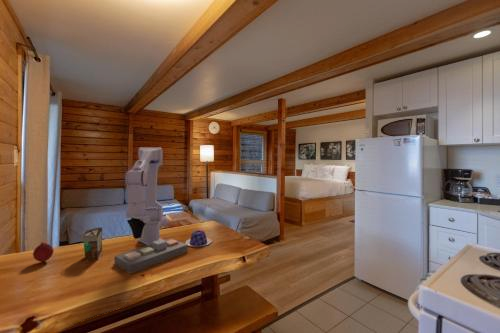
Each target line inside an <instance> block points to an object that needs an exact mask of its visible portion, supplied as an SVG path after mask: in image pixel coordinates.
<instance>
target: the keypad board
mask: <svg viewBox="0 0 500 333" xmlns="http://www.w3.org/2000/svg"><path fill="white" fill-rule="evenodd" d="M172 239H173V238H168V239H164V241H169V240H172ZM173 240H175V239H173ZM177 241H178V244H177V245H174V246H171V247H169V246H167V248H165V249H162V250H159V251H156V250H154V252H153V253H150V254H147V255H142V254H141V257H139V258H136V259H133V260H130V261H129V260H127V259H126V258H124V255H125V254H128V253H131V252H134V251H136V252H138V253H139V250H140V249H144V248H147V247H150V248H152V244H150V245H145V246H141V247H138V248H136V249H132V250H129V251H126V252H123V253H120V254H116V255H114V264H115V265H116V266H118V267H119V268H120V269H122V270H124V271H126V273H128V274H133V273H136V272H138V271H141V270H144V269H146V268H148V267H152V266H154V265H156V264H159V263H162V262H165V261H167V260H169V259H171V258H174V257H177V256H180V255H182V254H185V253H187V252H188V250H189V249H188V245H187V244H185V242H182V241H179V240H177Z"/></svg>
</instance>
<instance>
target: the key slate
mask: <svg viewBox="0 0 500 333" xmlns="http://www.w3.org/2000/svg"><path fill="white" fill-rule="evenodd" d="M162 239H163V238H161V240H157V241H154V242H152V249H154V250H156V251H159V250H162V249H165V248H167V241H164V240H165V239H164V240H162Z"/></svg>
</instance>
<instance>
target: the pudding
mask: <svg viewBox="0 0 500 333" xmlns="http://www.w3.org/2000/svg"><path fill="white" fill-rule="evenodd" d="M184 243H185V244H187V245H188V246H189V247H193V248H194V247H205V246H207V245H210V244H211V243H212V239H211V238H210V237H207V234H206V232H205V231H204V230H195V231H194V230H193V231H192V233H191V236H190V238H189V239H187V240H186V241H185V242H184Z"/></svg>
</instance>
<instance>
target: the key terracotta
mask: <svg viewBox="0 0 500 333" xmlns="http://www.w3.org/2000/svg"><path fill="white" fill-rule="evenodd" d="M171 239H172V240H169V241H167V246H169V247H171V246H174V245H177V244H178V241H179V240H176V239H174V240H173V238H171Z"/></svg>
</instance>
